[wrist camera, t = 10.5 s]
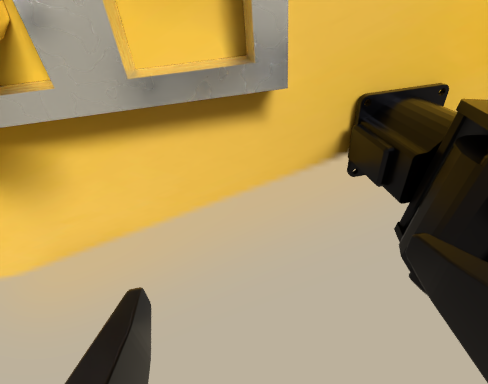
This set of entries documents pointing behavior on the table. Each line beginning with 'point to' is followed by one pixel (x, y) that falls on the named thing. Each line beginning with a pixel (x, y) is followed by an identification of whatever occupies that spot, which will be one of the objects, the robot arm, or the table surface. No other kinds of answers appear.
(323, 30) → the table surface
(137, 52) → the table surface
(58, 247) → the table surface
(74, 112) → the block
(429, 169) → the robot arm
